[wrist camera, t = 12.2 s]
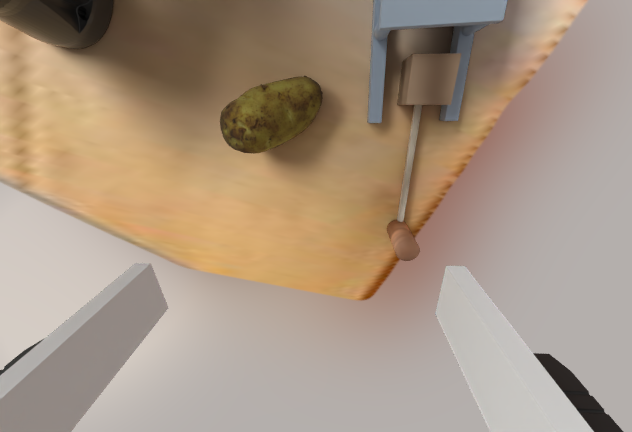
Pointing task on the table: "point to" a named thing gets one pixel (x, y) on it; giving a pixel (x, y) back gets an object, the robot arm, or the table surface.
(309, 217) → the table surface
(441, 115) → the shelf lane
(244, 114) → the dirty green tuber
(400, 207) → the wooden mallet
